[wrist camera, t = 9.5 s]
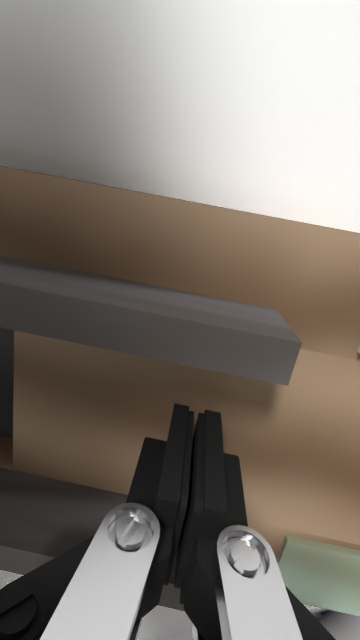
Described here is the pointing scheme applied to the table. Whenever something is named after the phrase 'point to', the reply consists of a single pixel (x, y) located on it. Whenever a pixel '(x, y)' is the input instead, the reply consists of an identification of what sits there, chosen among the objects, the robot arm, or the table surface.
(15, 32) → the table surface
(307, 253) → the runway board
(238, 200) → the table surface
